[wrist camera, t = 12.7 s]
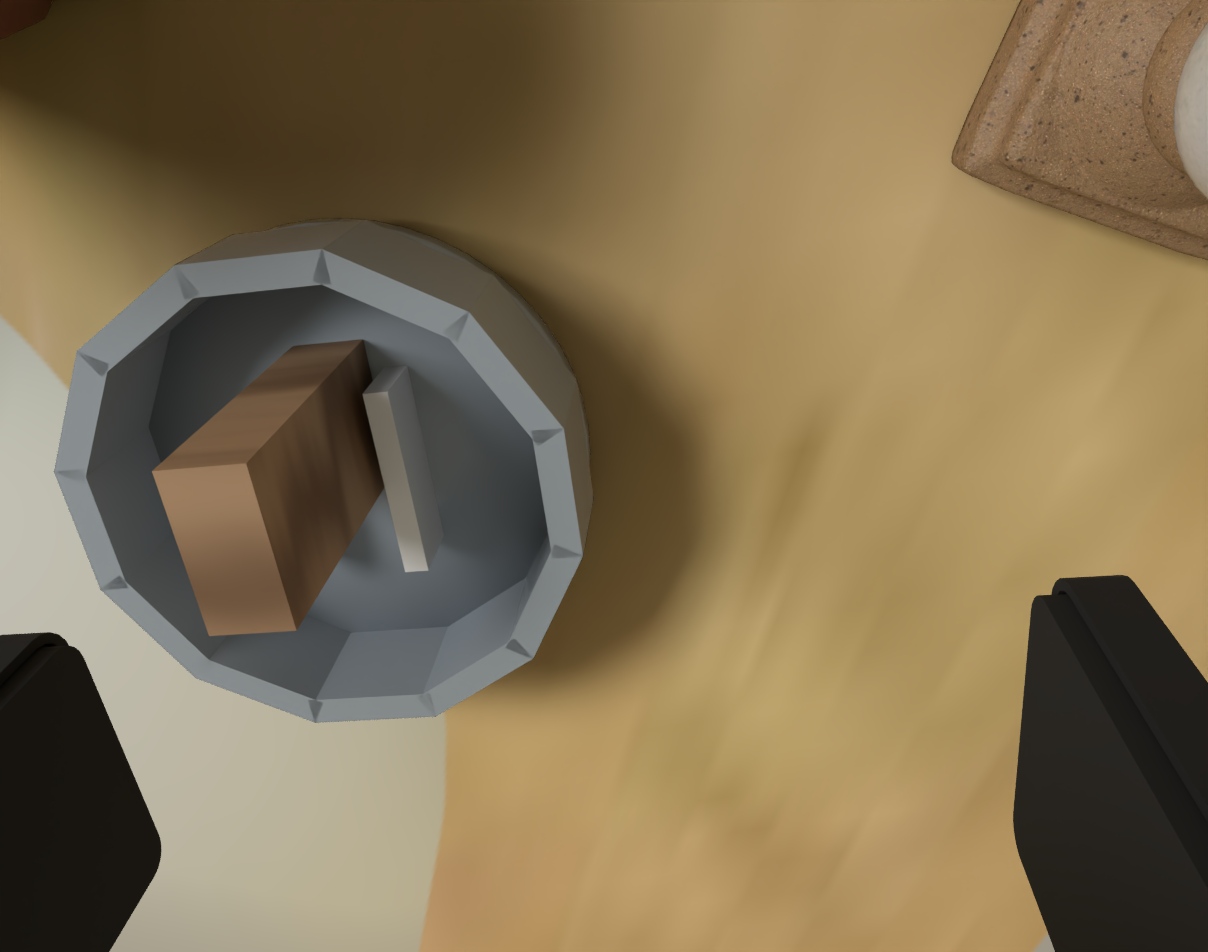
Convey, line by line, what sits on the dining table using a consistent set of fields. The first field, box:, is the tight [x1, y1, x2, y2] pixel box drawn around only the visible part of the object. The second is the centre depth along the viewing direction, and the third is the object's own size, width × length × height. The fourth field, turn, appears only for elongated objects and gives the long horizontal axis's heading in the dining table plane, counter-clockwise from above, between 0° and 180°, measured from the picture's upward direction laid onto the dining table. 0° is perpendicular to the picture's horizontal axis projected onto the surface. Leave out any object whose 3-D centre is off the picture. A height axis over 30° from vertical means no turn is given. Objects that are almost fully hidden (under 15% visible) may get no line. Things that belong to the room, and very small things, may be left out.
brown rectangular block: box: [152, 339, 385, 636], centre depth 36 cm, size 6×3×12 cm, turn 7°
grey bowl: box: [54, 218, 594, 723], centre depth 41 cm, size 20×20×6 cm
